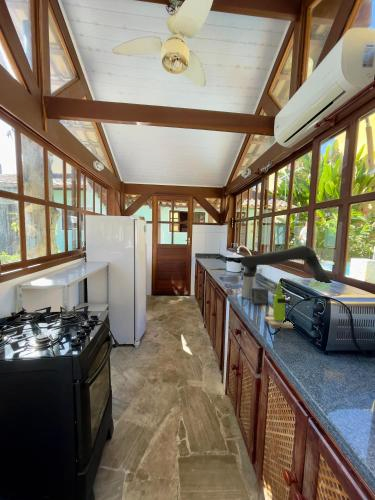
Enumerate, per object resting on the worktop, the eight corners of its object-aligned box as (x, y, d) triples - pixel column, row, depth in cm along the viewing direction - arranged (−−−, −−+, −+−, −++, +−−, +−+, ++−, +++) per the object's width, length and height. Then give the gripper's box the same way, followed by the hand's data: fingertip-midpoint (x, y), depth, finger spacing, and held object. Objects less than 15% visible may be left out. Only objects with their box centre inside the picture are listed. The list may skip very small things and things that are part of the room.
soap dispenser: (284, 316, 127) (284, 282, 126) (285, 320, 121) (285, 284, 120) (273, 315, 129) (273, 281, 128) (273, 319, 123) (273, 283, 122)
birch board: (264, 319, 131) (264, 316, 131) (284, 319, 131) (284, 316, 131) (272, 328, 119) (272, 324, 119) (294, 328, 119) (294, 324, 119)
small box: (266, 302, 165) (266, 288, 164) (268, 304, 158) (268, 290, 157) (251, 301, 166) (251, 287, 165) (253, 304, 159) (253, 289, 158)
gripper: (299, 289, 131) (270, 289, 131) (312, 296, 117) (280, 296, 117) (298, 301, 132) (270, 301, 132) (312, 310, 117) (280, 310, 117)
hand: (275, 299), depth 124 cm, fingers closed on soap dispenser, 6 cm apart
